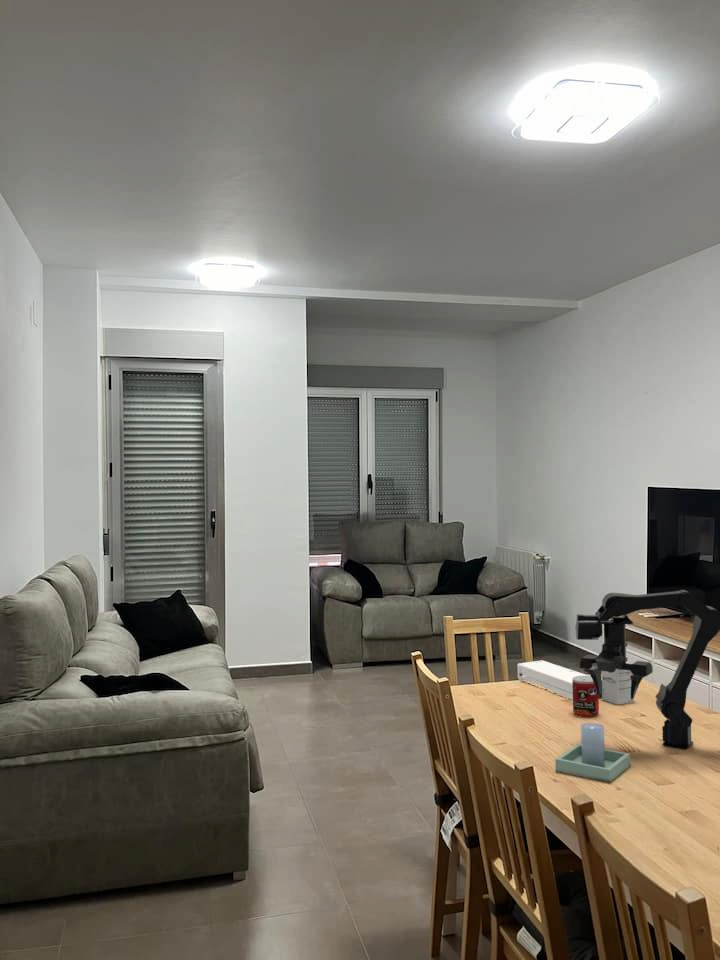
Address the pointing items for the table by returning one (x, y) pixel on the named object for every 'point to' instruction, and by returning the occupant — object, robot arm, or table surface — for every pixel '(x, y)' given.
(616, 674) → the supplement box
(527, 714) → the table surface
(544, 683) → the laminator
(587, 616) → the robot arm
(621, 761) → the tray
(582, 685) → the canned food
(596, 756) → the tall pale blue cylinder
